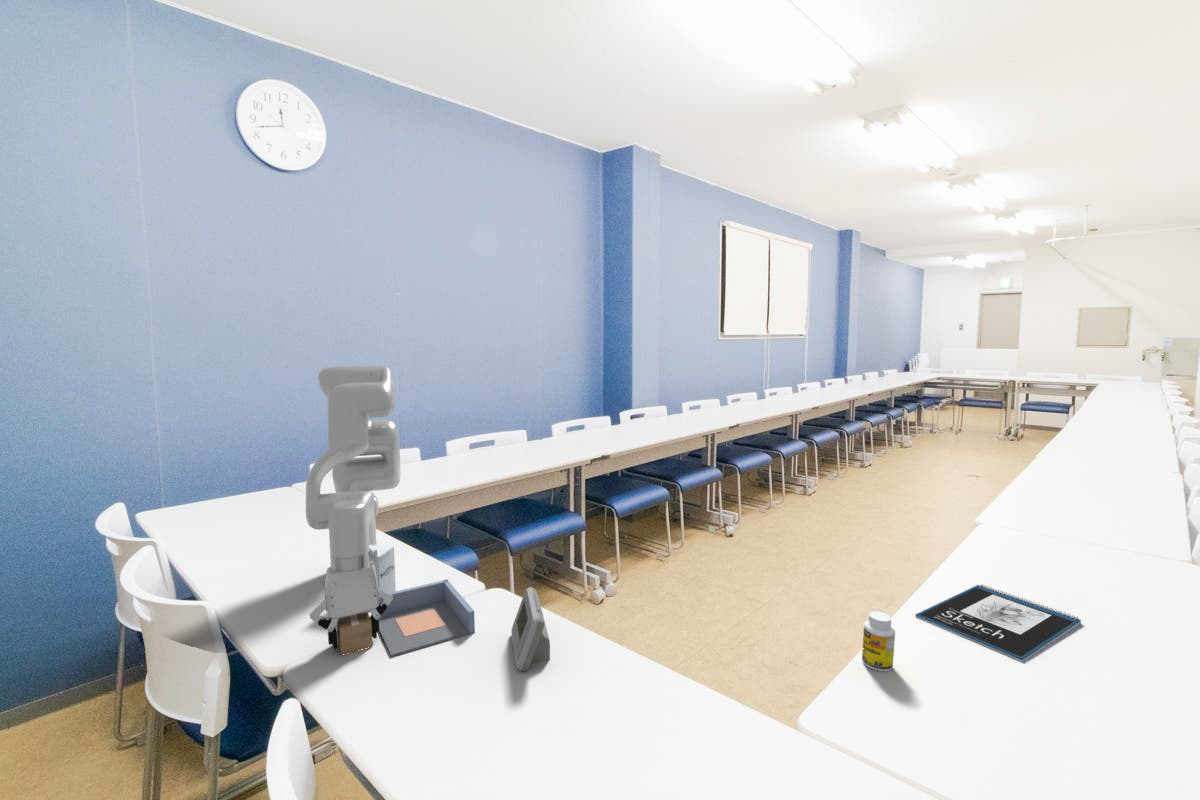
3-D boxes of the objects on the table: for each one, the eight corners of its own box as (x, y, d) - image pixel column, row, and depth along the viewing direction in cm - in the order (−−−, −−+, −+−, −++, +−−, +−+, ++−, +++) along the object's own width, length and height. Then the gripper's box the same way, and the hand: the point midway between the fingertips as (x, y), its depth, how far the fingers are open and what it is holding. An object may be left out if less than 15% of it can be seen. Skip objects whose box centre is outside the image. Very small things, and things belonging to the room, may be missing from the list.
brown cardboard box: (337, 642, 119) (335, 615, 118) (367, 634, 122) (365, 608, 121) (341, 656, 114) (340, 628, 113) (372, 647, 117) (371, 620, 116)
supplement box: (380, 607, 135) (377, 556, 133) (352, 604, 136) (350, 554, 135) (396, 593, 142) (395, 545, 140) (370, 590, 143) (368, 543, 142)
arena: (372, 617, 129) (371, 597, 129) (447, 598, 139) (447, 579, 138) (391, 657, 113) (390, 633, 113) (474, 632, 123) (474, 610, 122)
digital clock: (512, 631, 124) (512, 585, 123) (553, 630, 124) (552, 584, 123) (501, 674, 108) (500, 622, 106) (548, 674, 108) (547, 622, 107)
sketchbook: (915, 619, 130) (915, 611, 130) (979, 589, 146) (979, 582, 146) (1021, 664, 112) (1022, 655, 112) (1082, 625, 128) (1082, 616, 127)
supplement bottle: (855, 660, 112) (858, 612, 111) (874, 654, 115) (877, 607, 114) (879, 675, 107) (882, 625, 106) (899, 668, 110) (902, 619, 108)
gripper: (390, 546, 124) (393, 622, 126) (301, 563, 114) (306, 644, 116) (398, 557, 117) (401, 637, 119) (305, 576, 108) (310, 662, 110)
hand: (354, 640), depth 118 cm, fingers open, 7 cm apart
